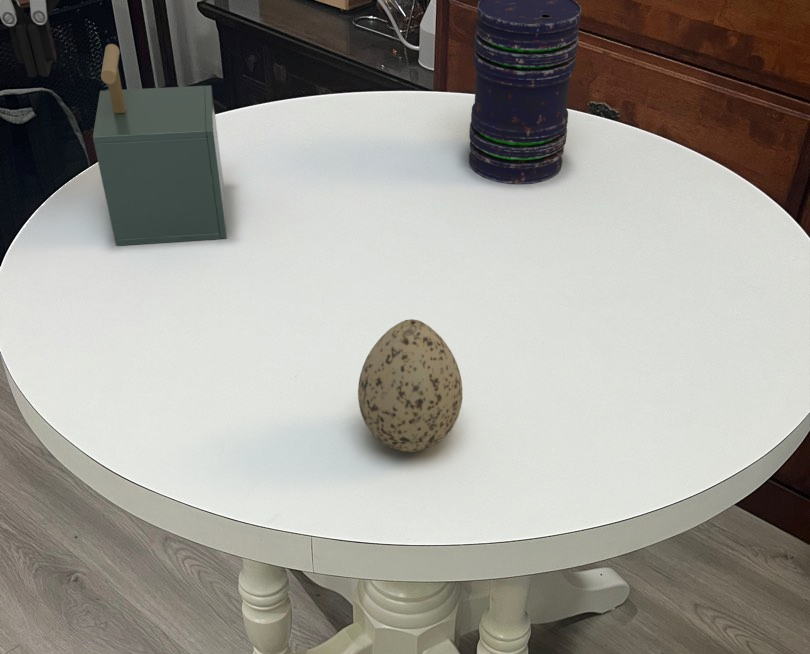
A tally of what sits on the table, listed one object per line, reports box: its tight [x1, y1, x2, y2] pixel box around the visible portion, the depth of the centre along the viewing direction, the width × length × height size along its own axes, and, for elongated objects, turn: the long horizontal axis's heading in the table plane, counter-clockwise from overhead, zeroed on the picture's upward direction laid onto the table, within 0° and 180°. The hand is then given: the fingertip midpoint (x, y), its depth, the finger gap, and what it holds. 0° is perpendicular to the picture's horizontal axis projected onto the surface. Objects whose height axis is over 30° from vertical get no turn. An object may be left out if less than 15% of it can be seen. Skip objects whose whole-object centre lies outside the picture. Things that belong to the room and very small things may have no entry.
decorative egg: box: [357, 318, 463, 453], centre depth 68 cm, size 7×7×10 cm
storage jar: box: [468, 0, 582, 185], centre depth 98 cm, size 10×10×15 cm
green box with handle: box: [92, 43, 228, 246], centre depth 89 cm, size 10×10×15 cm
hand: (40, 70), depth 84 cm, fingers closed
